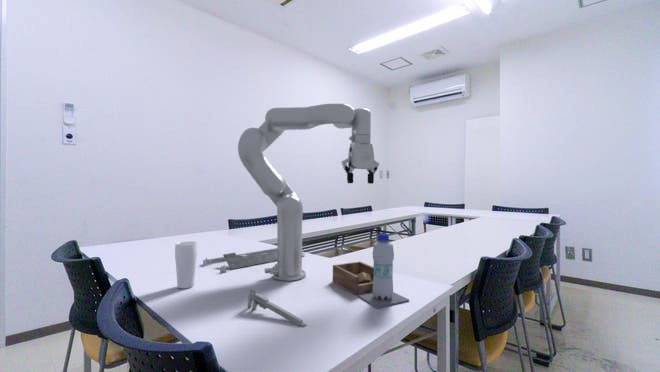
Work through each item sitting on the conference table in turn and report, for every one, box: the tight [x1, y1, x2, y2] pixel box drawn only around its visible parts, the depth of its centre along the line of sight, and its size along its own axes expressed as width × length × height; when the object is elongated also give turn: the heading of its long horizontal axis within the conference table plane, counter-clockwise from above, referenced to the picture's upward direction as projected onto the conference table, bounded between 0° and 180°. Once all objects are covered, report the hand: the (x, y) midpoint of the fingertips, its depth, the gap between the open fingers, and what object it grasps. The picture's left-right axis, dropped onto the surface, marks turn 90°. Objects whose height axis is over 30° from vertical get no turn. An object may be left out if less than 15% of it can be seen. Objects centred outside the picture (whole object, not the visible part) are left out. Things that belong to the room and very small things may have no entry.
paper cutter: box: [202, 247, 306, 274], centre depth 139 cm, size 18×45×6 cm, turn 133°
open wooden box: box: [332, 260, 374, 297], centre depth 105 cm, size 12×16×6 cm
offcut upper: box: [357, 272, 373, 283], centre depth 103 cm, size 8×3×2 cm
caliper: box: [247, 286, 307, 328], centre depth 80 cm, size 20×1×6 cm, turn 58°
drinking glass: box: [174, 240, 198, 290], centre depth 102 cm, size 7×7×15 cm
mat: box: [357, 291, 410, 310], centre depth 93 cm, size 12×10×1 cm
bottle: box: [371, 233, 395, 300], centre depth 93 cm, size 7×7×20 cm
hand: (360, 183), depth 118 cm, fingers open, 9 cm apart
